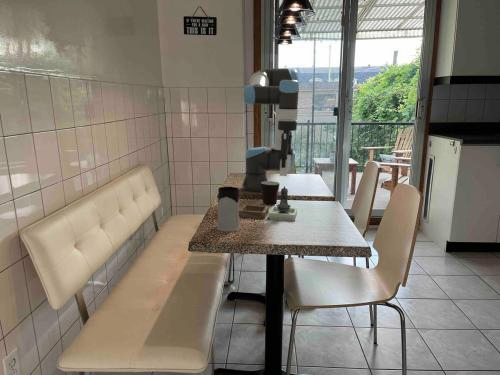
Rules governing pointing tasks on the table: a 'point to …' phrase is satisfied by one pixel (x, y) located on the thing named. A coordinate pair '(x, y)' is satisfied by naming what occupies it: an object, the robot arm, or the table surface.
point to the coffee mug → (270, 192)
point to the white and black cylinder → (228, 209)
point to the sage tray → (279, 216)
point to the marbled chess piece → (283, 202)
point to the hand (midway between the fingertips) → (285, 172)
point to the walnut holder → (254, 211)
